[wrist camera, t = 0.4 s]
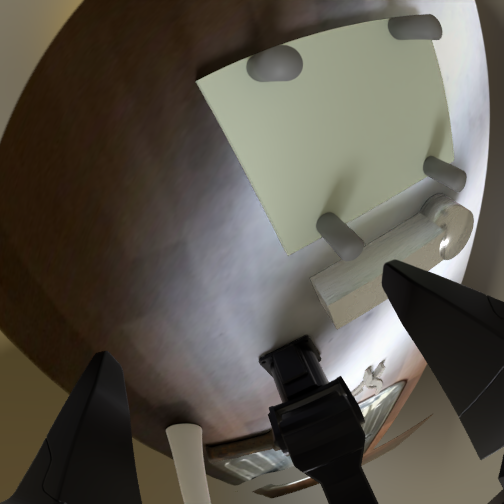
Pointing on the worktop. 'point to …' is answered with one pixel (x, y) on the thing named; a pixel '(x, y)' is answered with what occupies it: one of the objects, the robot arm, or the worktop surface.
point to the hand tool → (240, 448)
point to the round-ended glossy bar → (393, 247)
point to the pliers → (370, 380)
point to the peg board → (337, 125)
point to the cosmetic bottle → (189, 462)
